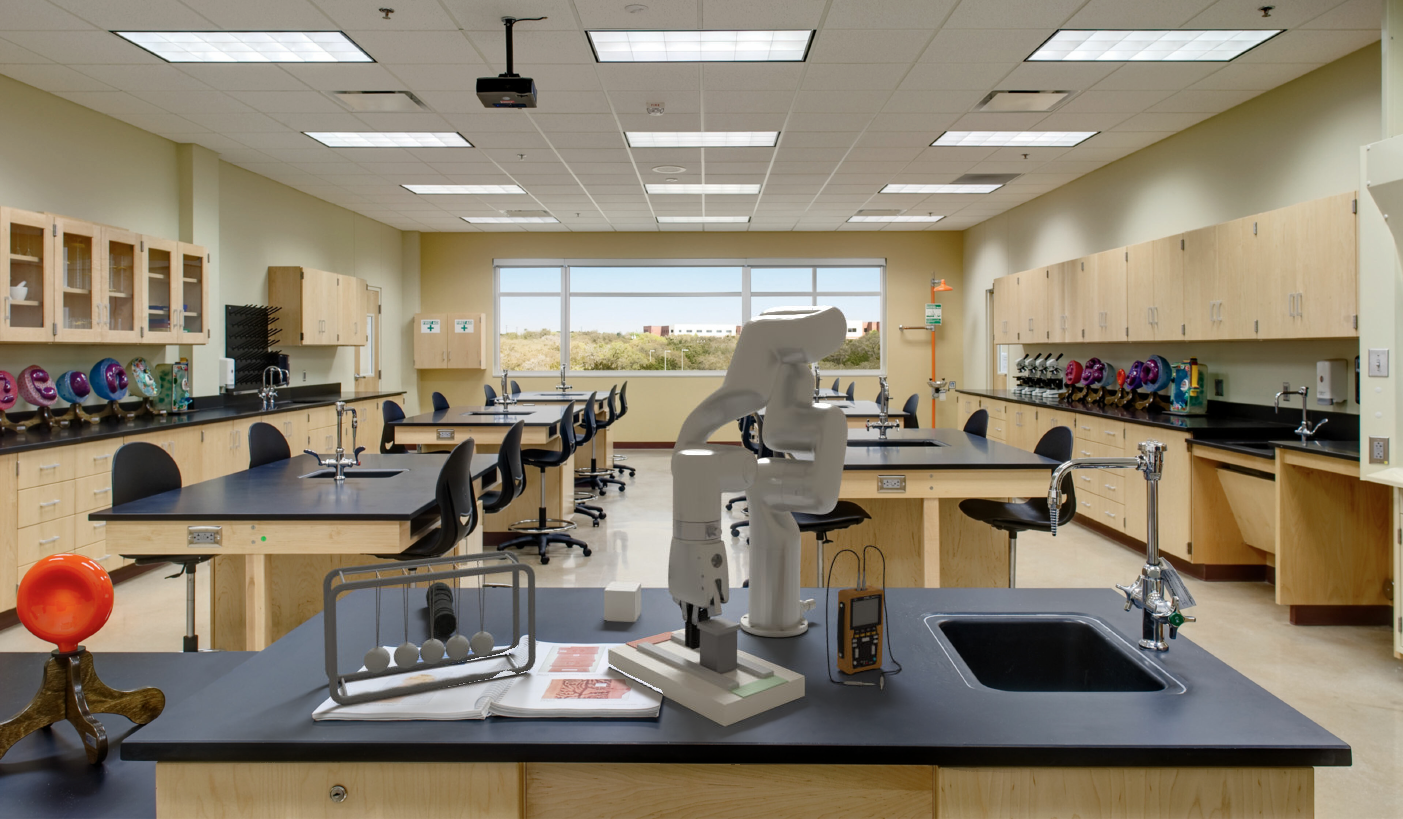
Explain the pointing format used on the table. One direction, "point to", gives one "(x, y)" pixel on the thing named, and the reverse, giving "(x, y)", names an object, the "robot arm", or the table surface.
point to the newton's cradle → (432, 648)
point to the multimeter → (860, 626)
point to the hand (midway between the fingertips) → (696, 645)
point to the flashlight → (442, 609)
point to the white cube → (622, 601)
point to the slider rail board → (707, 678)
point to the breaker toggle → (718, 644)
